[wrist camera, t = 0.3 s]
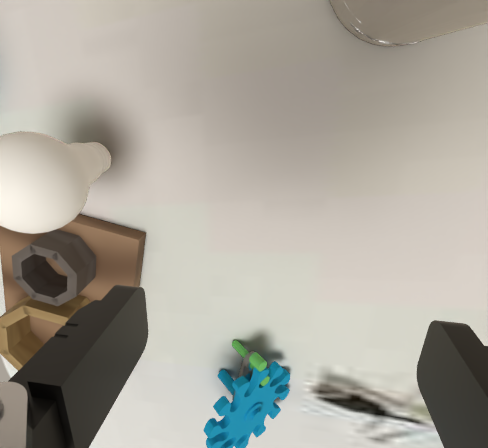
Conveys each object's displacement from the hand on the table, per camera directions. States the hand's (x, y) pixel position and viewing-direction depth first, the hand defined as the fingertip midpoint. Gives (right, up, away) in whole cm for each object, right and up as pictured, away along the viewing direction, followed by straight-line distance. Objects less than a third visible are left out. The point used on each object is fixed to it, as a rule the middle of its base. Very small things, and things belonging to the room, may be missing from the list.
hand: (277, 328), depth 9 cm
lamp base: (-18, -4, +24) cm, 31 cm away
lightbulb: (-13, +9, +18) cm, 24 cm away
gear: (0, -13, +26) cm, 29 cm away
